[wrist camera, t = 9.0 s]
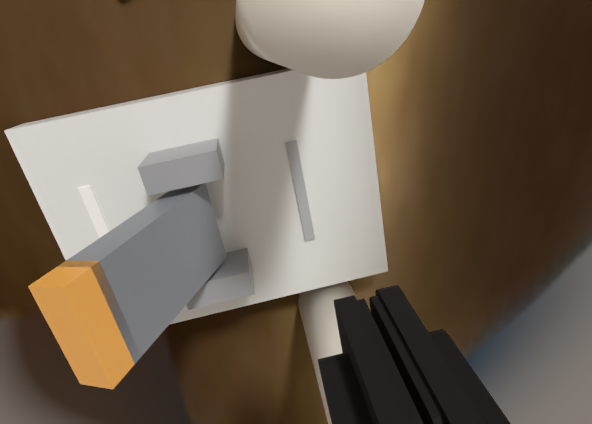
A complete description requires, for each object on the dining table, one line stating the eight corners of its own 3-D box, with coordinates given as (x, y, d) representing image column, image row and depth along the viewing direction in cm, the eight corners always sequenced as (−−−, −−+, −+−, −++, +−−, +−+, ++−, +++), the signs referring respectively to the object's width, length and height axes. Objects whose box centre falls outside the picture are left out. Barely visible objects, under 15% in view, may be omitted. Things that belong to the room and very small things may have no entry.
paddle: (205, 182, 20) (63, 288, 13) (226, 257, 22) (113, 389, 15) (178, 184, 21) (27, 286, 13) (202, 257, 23) (80, 383, 15)
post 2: (350, 269, 28) (452, 462, 15) (357, 316, 29) (455, 527, 16) (293, 283, 27) (346, 491, 15) (303, 329, 29) (359, 554, 16)
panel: (353, 54, 22) (383, 56, 18) (377, 256, 28) (405, 296, 23) (23, 123, 21) (-31, 143, 17) (112, 320, 26) (89, 374, 22)
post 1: (304, -31, 21) (423, -162, 8) (316, 52, 22) (433, 59, 9) (226, -16, 20) (216, -126, 7) (245, 67, 22) (262, 95, 9)
